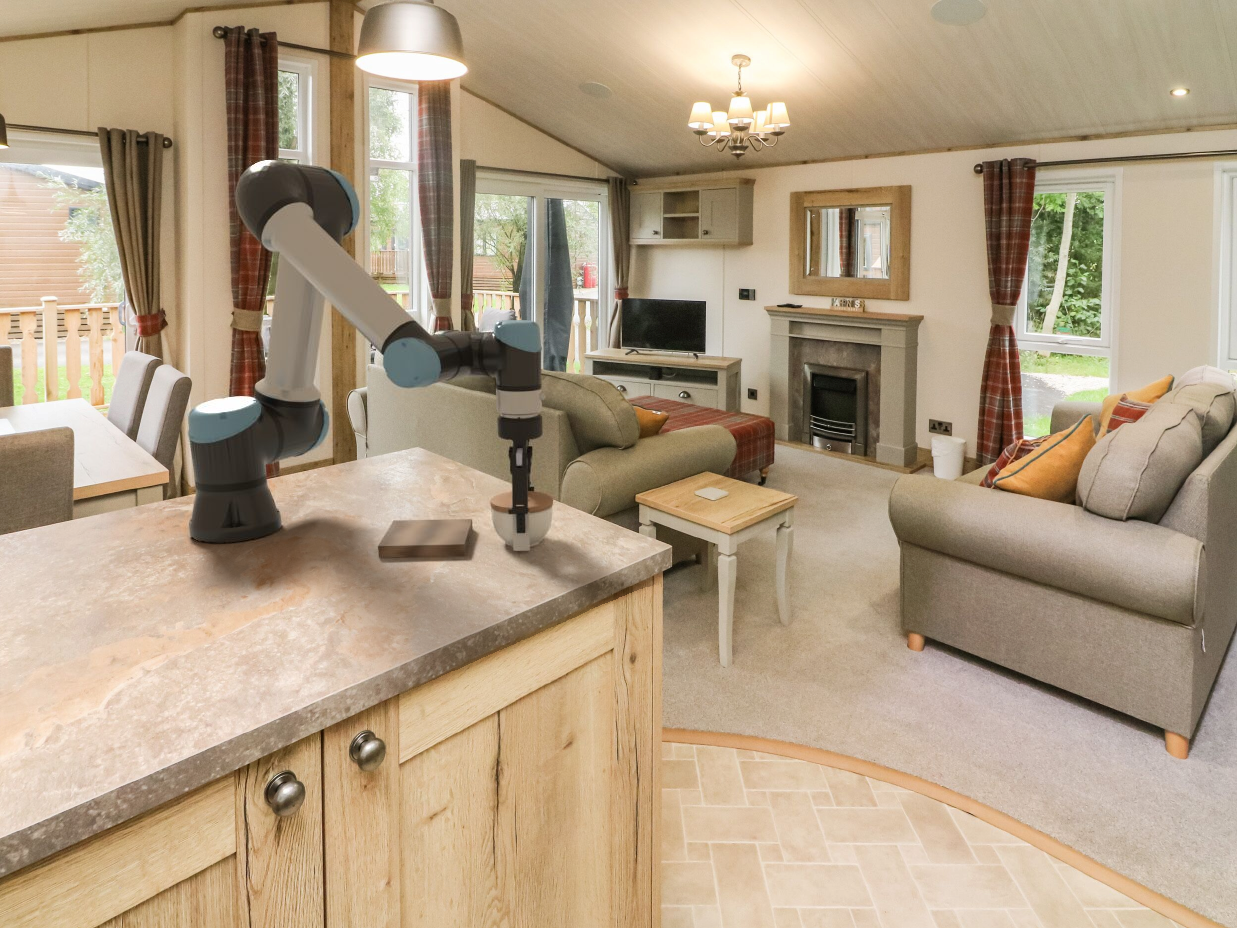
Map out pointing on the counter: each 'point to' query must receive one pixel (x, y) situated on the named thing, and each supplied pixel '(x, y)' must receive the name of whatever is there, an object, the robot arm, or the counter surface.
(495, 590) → the counter surface
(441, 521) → the walnut board
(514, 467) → the robot arm
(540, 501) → the lidded jar
